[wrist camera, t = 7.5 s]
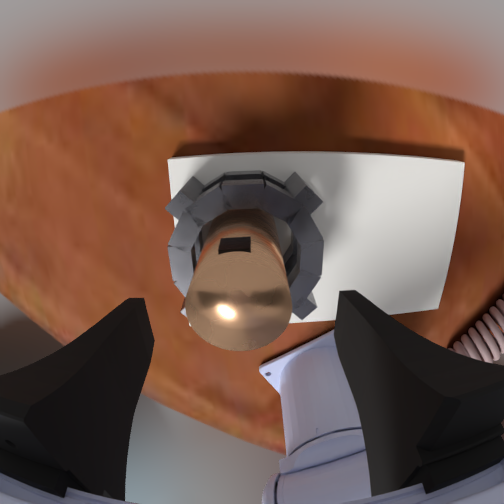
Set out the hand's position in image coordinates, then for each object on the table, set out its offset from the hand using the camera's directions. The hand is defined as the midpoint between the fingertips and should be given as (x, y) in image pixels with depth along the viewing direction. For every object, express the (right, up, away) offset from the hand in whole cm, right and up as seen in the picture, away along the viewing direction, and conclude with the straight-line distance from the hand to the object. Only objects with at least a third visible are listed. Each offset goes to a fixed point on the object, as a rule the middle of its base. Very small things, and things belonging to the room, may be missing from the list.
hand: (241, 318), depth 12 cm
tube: (0, +4, +9) cm, 9 cm away
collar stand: (0, +4, +10) cm, 10 cm away
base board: (+6, +3, +10) cm, 12 cm away
